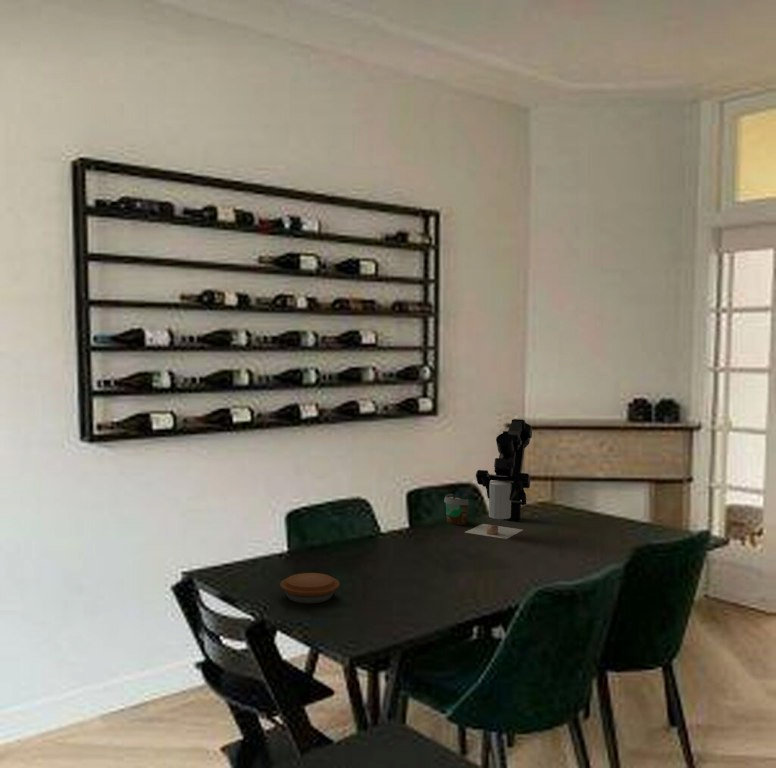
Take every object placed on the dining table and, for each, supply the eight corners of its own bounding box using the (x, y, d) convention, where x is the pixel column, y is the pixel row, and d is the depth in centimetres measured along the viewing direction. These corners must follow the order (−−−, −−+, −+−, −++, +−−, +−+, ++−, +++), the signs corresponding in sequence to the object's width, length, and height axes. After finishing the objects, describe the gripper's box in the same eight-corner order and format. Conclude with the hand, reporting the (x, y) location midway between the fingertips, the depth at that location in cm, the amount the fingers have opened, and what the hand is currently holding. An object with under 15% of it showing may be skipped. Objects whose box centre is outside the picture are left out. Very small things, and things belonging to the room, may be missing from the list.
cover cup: (499, 513, 277) (500, 480, 276) (514, 517, 271) (515, 483, 270) (484, 516, 272) (485, 482, 271) (500, 520, 266) (501, 485, 265)
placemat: (482, 524, 288) (482, 523, 288) (523, 530, 280) (523, 529, 280) (464, 533, 275) (464, 532, 275) (506, 539, 266) (506, 538, 266)
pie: (268, 596, 203) (268, 577, 203) (314, 584, 214) (314, 566, 214) (304, 611, 192) (305, 591, 192) (351, 597, 203) (351, 579, 203)
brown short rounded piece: (490, 531, 276) (490, 524, 276) (500, 533, 274) (500, 526, 274) (484, 533, 273) (484, 526, 273) (494, 535, 271) (494, 528, 271)
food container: (437, 520, 294) (438, 494, 293) (451, 519, 296) (452, 493, 296) (453, 527, 282) (454, 500, 282) (468, 526, 285) (468, 499, 284)
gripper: (477, 447, 277) (469, 483, 267) (529, 450, 271) (523, 487, 261) (481, 465, 285) (474, 501, 275) (532, 469, 279) (526, 506, 269)
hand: (499, 498), depth 270 cm, fingers closed on cover cup, 7 cm apart
